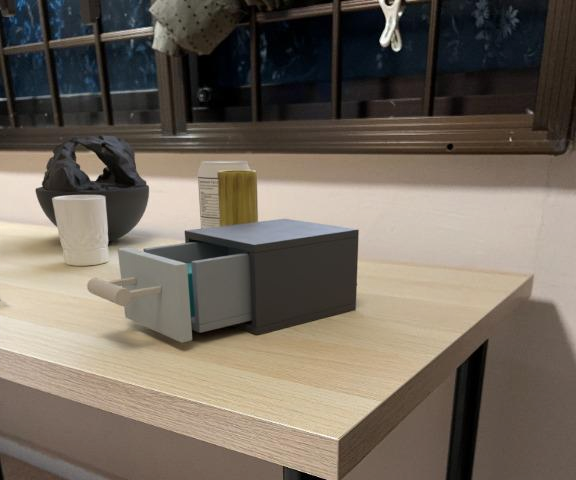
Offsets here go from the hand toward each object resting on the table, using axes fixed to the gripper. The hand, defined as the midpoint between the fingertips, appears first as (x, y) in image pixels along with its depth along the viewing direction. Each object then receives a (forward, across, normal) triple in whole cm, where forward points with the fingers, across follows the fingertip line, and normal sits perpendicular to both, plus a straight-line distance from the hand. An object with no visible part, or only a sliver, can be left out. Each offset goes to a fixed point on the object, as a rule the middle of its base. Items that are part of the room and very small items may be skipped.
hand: (50, 20), depth 64 cm
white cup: (+30, -10, -23) cm, 39 cm away
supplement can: (+30, -27, -8) cm, 41 cm away
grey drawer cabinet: (+30, -14, +19) cm, 38 cm away
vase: (+30, -22, +2) cm, 37 cm away
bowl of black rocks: (+30, -20, -40) cm, 54 cm away
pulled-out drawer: (+29, -3, +19) cm, 35 cm away
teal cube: (+28, -4, +19) cm, 34 cm away
